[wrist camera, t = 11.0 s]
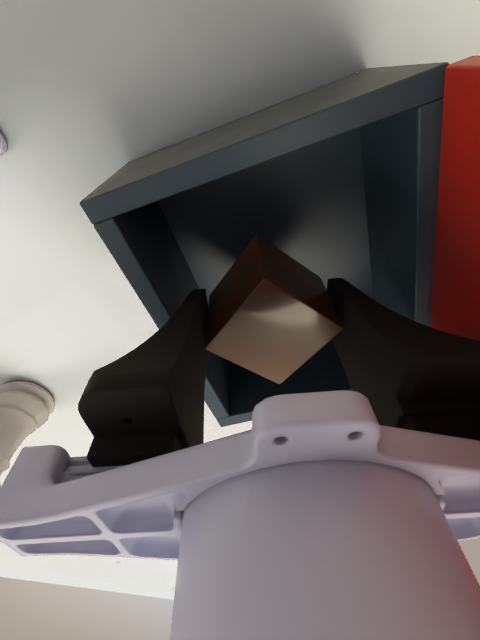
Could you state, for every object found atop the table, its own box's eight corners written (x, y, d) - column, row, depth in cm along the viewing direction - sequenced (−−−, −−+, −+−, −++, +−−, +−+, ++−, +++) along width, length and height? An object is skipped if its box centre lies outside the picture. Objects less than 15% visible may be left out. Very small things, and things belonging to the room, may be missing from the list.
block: (270, 329, 17) (279, 385, 14) (209, 295, 16) (204, 349, 13) (320, 277, 15) (344, 328, 12) (256, 233, 14) (264, 278, 11)
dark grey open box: (222, 352, 23) (221, 427, 18) (127, 162, 15) (77, 202, 10) (382, 310, 21) (429, 381, 16) (367, 68, 13) (450, 61, 8)
